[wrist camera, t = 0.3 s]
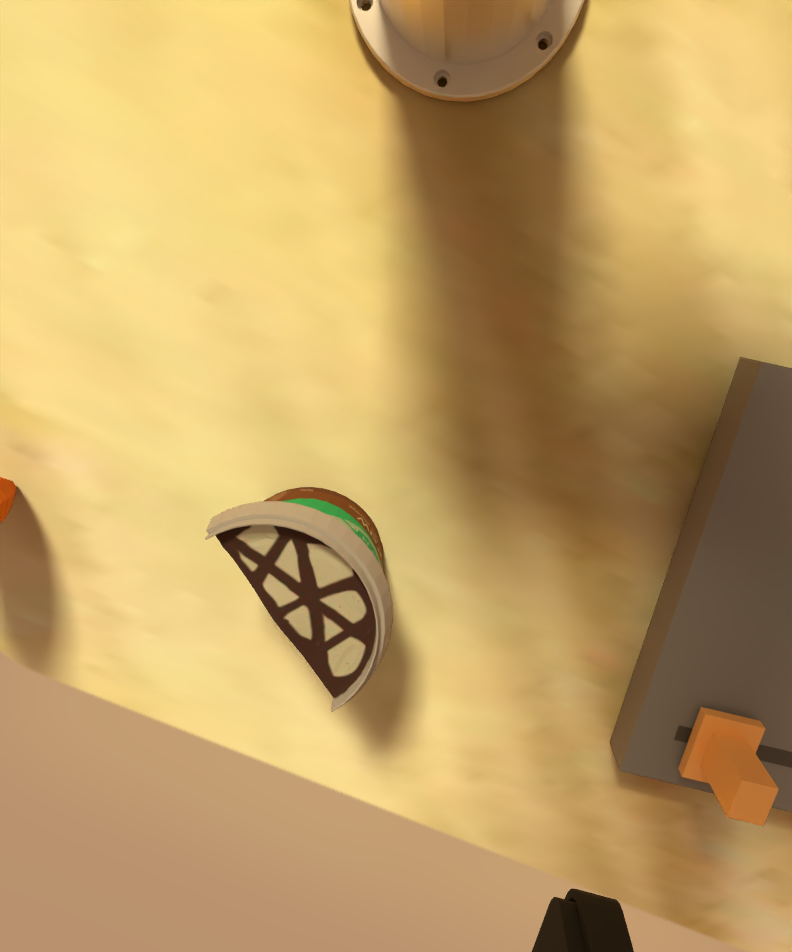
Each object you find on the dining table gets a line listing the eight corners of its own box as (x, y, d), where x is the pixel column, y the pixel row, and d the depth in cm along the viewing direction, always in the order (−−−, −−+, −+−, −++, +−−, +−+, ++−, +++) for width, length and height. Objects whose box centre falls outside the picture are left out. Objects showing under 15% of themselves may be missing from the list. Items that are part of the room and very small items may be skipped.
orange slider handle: (701, 706, 43) (733, 760, 38) (760, 720, 43) (800, 776, 38) (677, 768, 44) (706, 828, 39) (735, 782, 44) (771, 844, 39)
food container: (439, 588, 46) (436, 665, 37) (360, 633, 48) (337, 720, 38) (332, 428, 44) (298, 466, 35) (252, 480, 46) (198, 530, 36)
